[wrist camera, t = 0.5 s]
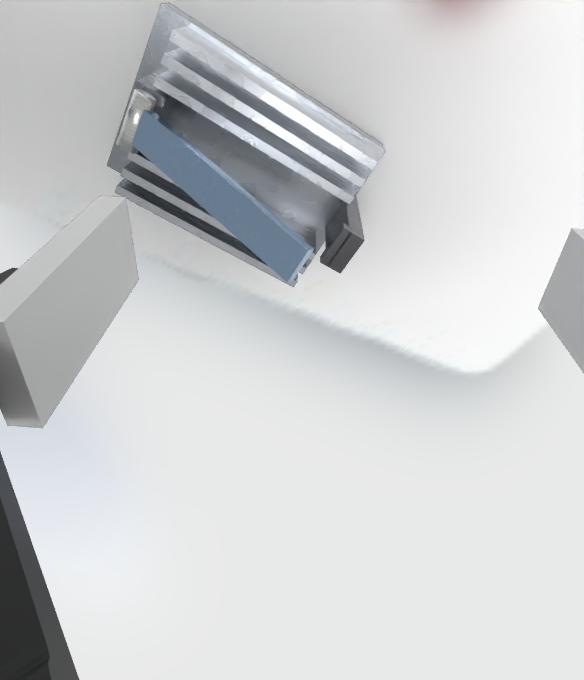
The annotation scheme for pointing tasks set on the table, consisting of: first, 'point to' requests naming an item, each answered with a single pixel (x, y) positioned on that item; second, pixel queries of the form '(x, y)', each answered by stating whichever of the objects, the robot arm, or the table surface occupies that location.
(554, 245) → the table surface
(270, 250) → the blue long flat bar
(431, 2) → the table surface
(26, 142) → the table surface
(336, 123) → the heatsink
